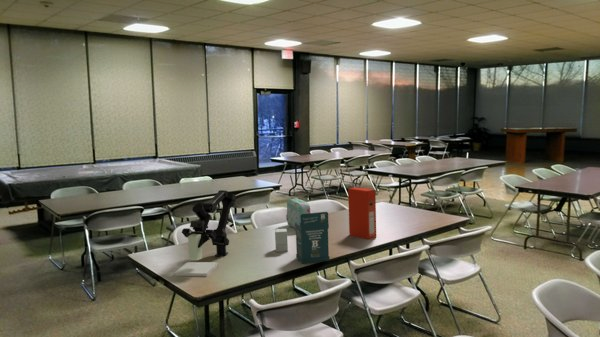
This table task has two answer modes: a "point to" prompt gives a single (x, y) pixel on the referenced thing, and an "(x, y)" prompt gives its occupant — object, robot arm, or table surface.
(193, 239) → the sage block
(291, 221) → the lunch box
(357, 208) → the file binder
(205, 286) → the table surface
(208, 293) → the table surface
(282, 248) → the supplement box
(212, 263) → the grey board
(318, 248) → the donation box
